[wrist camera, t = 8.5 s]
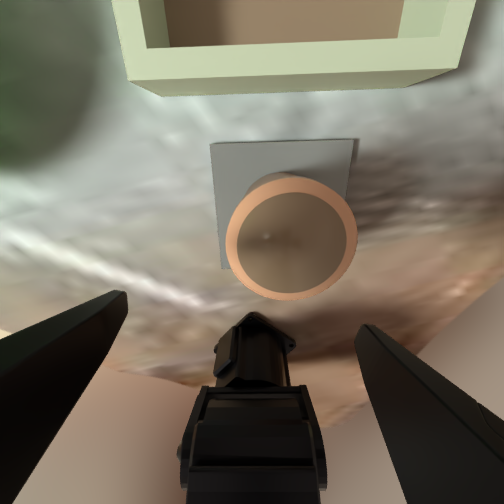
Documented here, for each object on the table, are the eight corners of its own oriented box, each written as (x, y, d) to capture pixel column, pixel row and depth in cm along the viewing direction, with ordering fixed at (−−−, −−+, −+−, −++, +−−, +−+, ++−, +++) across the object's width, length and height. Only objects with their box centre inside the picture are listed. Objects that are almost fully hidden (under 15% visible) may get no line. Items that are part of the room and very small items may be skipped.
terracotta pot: (330, 168, 17) (374, 183, 11) (315, 253, 20) (343, 304, 13) (236, 164, 17) (225, 175, 10) (235, 249, 20) (225, 299, 13)
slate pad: (333, 263, 21) (335, 266, 20) (222, 265, 21) (221, 268, 21) (350, 139, 17) (353, 139, 16) (211, 143, 17) (209, 144, 16)
